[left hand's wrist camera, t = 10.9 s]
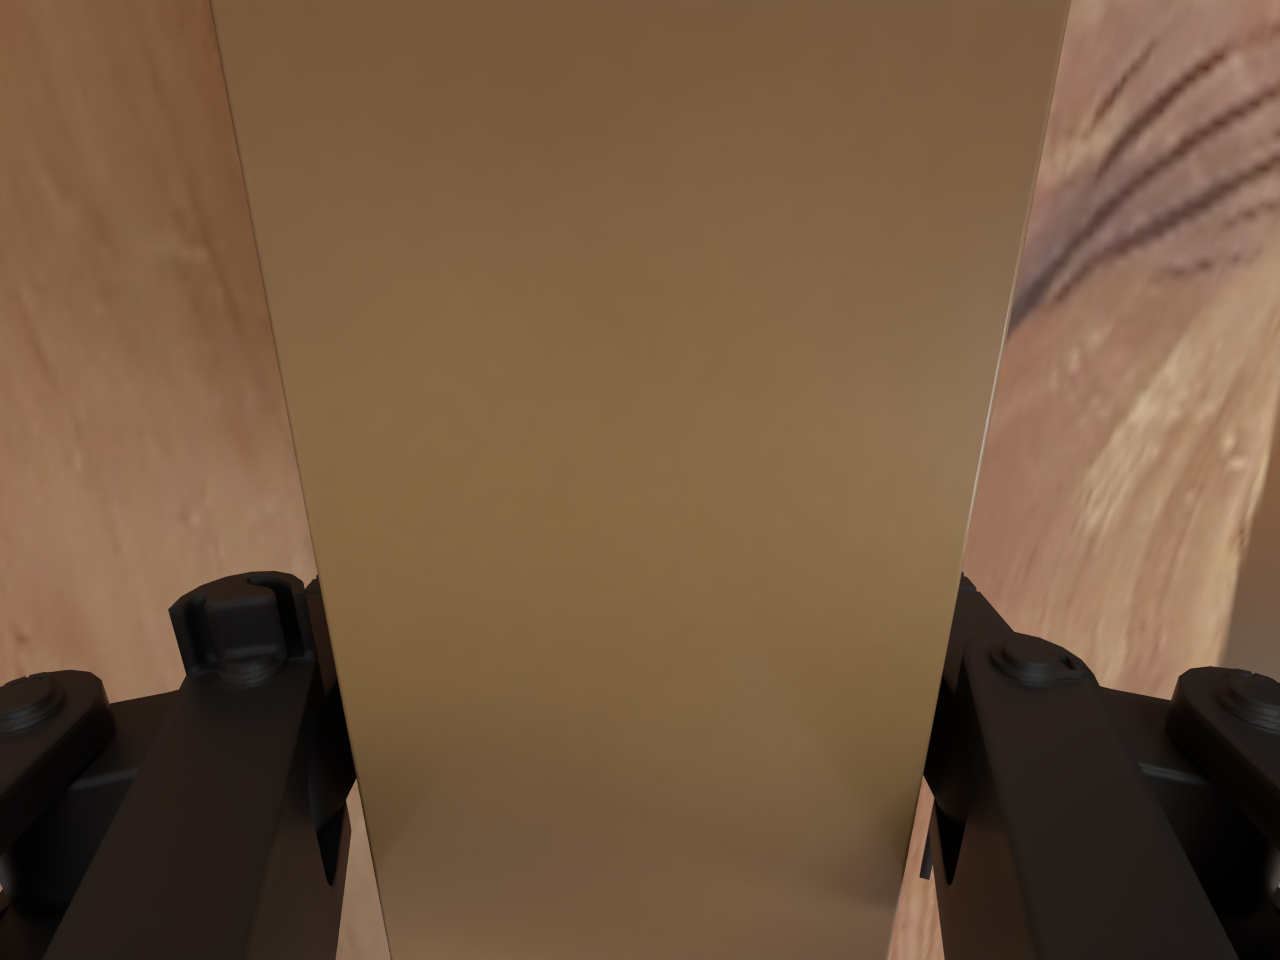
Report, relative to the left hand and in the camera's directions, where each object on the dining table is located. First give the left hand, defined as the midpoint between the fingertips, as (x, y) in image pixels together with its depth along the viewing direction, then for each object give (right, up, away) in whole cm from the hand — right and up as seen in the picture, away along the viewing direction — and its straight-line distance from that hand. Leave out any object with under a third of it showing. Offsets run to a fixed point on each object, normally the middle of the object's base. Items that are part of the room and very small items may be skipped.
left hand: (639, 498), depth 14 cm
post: (0, +20, -7) cm, 21 cm away
